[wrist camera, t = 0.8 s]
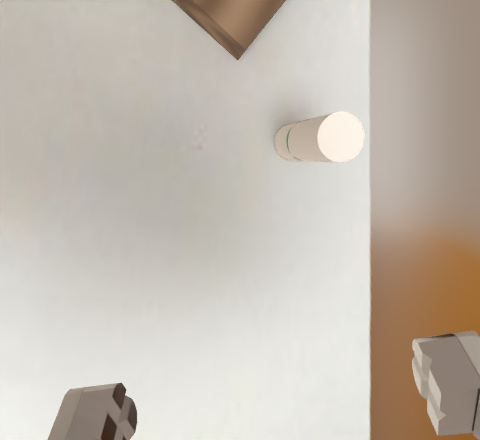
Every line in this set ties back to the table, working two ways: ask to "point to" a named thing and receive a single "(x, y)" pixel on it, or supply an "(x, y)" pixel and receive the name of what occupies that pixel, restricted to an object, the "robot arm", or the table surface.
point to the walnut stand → (231, 20)
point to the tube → (321, 139)
